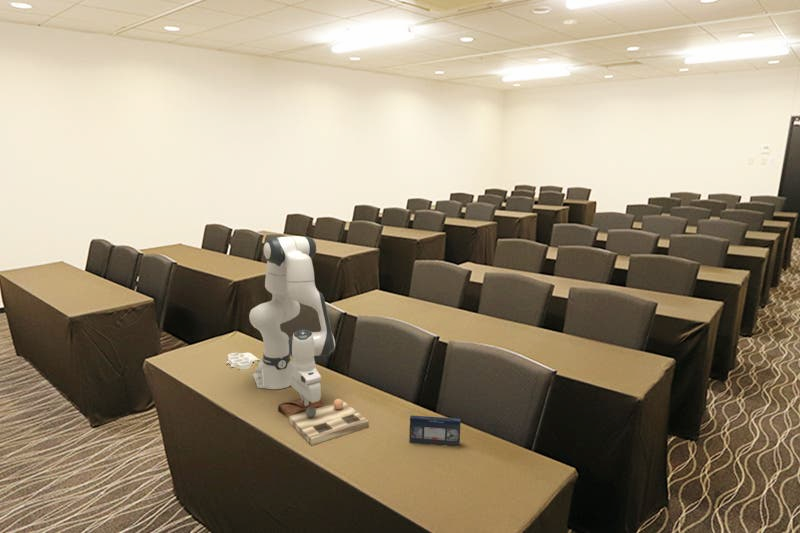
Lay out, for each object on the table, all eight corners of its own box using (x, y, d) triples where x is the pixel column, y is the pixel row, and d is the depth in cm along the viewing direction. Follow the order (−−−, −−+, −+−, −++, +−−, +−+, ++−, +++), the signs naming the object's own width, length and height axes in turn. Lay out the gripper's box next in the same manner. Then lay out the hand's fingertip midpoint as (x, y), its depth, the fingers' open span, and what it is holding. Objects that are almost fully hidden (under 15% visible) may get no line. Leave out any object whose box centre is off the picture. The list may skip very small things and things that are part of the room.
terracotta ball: (331, 407, 208) (331, 398, 207) (340, 405, 210) (340, 396, 209) (336, 411, 204) (336, 402, 204) (345, 409, 207) (345, 400, 206)
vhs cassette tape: (408, 443, 188) (409, 418, 186) (409, 438, 191) (410, 414, 189) (459, 447, 185) (460, 422, 183) (459, 443, 188) (461, 418, 186)
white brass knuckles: (263, 366, 254) (234, 373, 245) (248, 355, 268) (220, 362, 259) (263, 360, 254) (234, 367, 245) (248, 349, 267) (220, 355, 258)
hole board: (288, 422, 201) (288, 416, 200) (343, 406, 214) (343, 400, 214) (311, 445, 185) (311, 439, 184) (368, 426, 198) (368, 420, 198)
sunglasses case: (287, 419, 203) (283, 402, 204) (280, 421, 208) (276, 405, 210) (326, 406, 214) (322, 390, 216) (319, 408, 219) (315, 393, 221)
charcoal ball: (303, 415, 201) (303, 406, 200) (313, 413, 203) (313, 403, 202) (308, 420, 198) (308, 410, 197) (317, 417, 200) (317, 407, 199)
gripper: (285, 365, 209) (286, 396, 212) (308, 382, 193) (309, 416, 196) (299, 361, 213) (301, 393, 215) (323, 378, 197) (324, 411, 199)
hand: (305, 404), depth 205 cm, fingers closed
